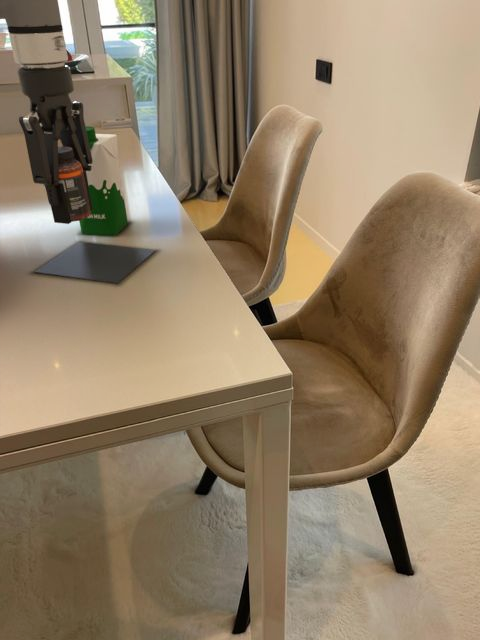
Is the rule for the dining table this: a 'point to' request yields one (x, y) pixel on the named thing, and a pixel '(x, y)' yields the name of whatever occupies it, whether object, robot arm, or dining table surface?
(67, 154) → the supplement bottle
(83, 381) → the dining table surface
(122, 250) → the mat
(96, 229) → the milk carton
